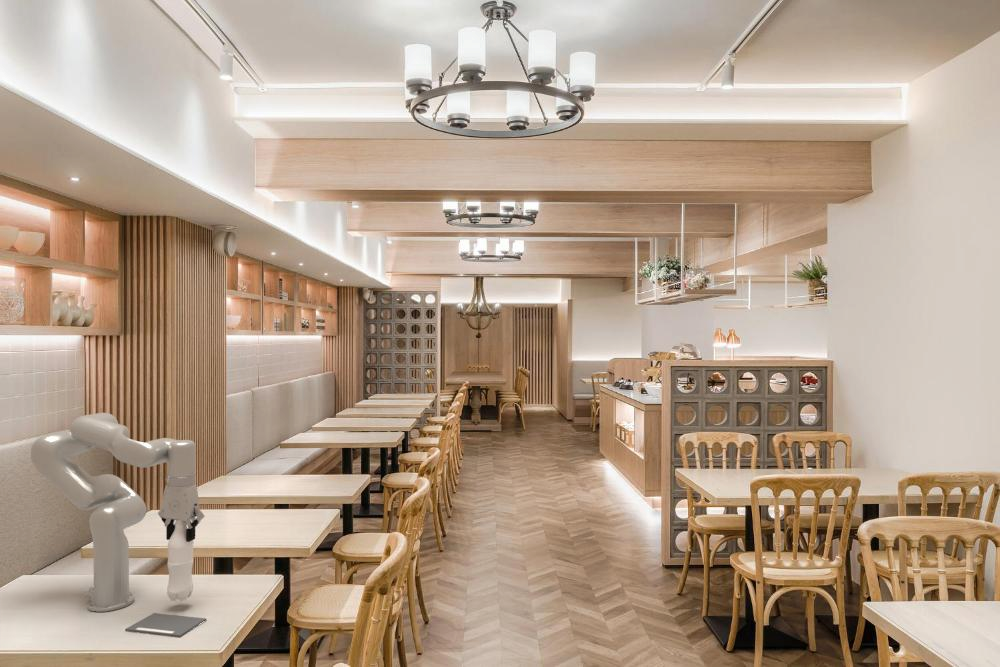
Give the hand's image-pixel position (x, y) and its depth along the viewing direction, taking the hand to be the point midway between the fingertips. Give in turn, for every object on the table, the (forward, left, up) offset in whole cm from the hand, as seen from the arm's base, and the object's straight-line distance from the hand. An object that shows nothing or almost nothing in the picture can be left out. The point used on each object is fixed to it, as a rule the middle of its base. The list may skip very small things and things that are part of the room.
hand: (180, 538), depth 202 cm
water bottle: (0, 0, -18) cm, 18 cm away
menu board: (+4, -11, -21) cm, 24 cm away
